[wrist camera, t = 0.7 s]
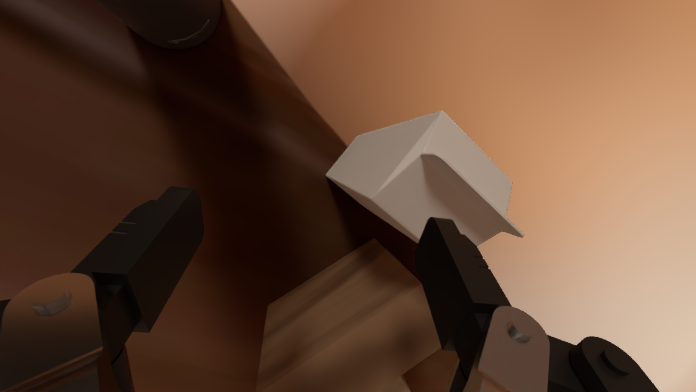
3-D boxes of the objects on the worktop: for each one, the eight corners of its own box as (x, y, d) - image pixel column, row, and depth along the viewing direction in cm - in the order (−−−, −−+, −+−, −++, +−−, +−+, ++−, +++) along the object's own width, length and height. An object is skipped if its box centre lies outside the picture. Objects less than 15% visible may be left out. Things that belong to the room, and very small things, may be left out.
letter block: (348, 360, 37) (357, 392, 32) (380, 339, 37) (394, 366, 32) (367, 388, 38) (378, 423, 33) (398, 367, 38) (414, 397, 33)
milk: (357, 135, 33) (484, 91, 11) (394, 168, 34) (570, 184, 13) (324, 176, 33) (390, 209, 11) (363, 207, 34) (488, 290, 13)
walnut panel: (267, 305, 33) (254, 395, 21) (374, 237, 35) (421, 283, 22) (295, 343, 35) (298, 449, 22) (396, 276, 36) (453, 340, 24)
